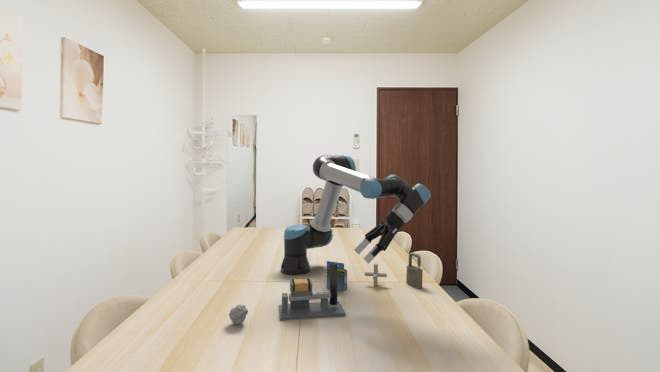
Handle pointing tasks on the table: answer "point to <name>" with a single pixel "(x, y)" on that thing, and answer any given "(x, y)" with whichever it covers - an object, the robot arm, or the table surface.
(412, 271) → the padlock
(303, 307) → the frame
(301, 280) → the block
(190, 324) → the table surface
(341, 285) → the label tape cartridge
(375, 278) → the pipe connector
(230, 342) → the table surface
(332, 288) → the rod with black post
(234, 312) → the grey lumpy piece
